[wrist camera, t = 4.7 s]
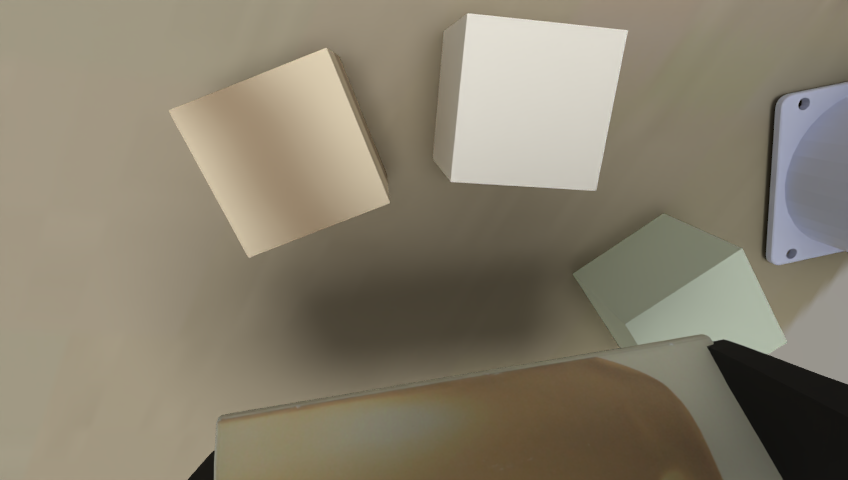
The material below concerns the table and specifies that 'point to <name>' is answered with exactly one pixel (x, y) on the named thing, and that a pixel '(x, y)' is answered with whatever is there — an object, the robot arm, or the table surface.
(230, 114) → the cube beech
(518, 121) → the cube cream
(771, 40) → the table surface
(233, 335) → the table surface
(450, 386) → the skincare box
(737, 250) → the cube sage
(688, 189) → the table surface
